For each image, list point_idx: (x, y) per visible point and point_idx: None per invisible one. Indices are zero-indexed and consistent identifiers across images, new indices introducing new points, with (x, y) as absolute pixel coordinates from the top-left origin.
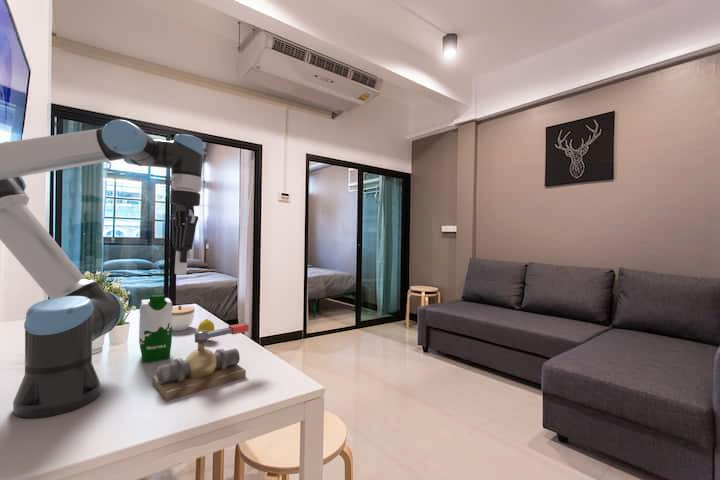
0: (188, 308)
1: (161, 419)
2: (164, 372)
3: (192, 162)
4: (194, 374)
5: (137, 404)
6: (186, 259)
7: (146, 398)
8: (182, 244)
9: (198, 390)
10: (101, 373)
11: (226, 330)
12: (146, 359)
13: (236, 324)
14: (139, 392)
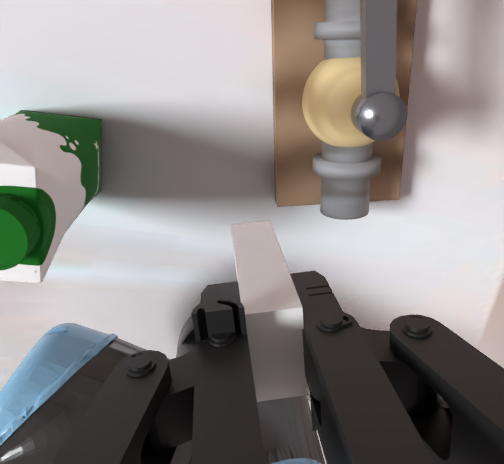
0: None
1: (462, 218)
2: (367, 207)
3: None
4: None
5: (363, 242)
6: (327, 286)
7: (348, 224)
8: (426, 436)
9: None
10: (126, 282)
11: (396, 7)
12: (100, 186)
13: None
14: (305, 230)
